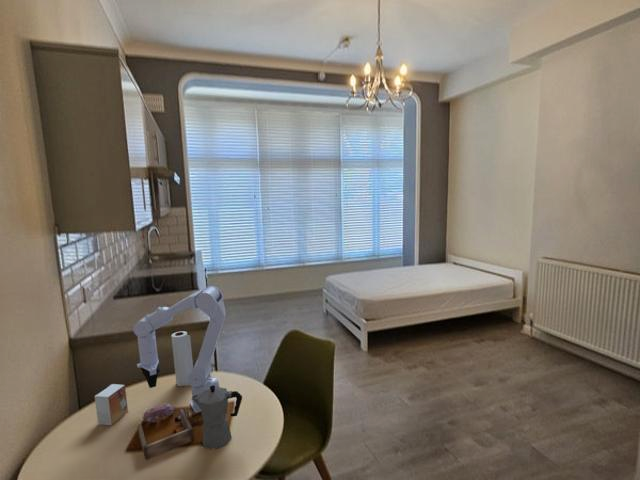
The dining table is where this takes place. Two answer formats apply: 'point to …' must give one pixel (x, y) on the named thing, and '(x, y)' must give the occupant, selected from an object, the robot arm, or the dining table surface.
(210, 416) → the coffeepot
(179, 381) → the paper towel roll
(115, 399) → the small box
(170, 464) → the dining table surface
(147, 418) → the video game controller
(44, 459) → the dining table surface
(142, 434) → the box
